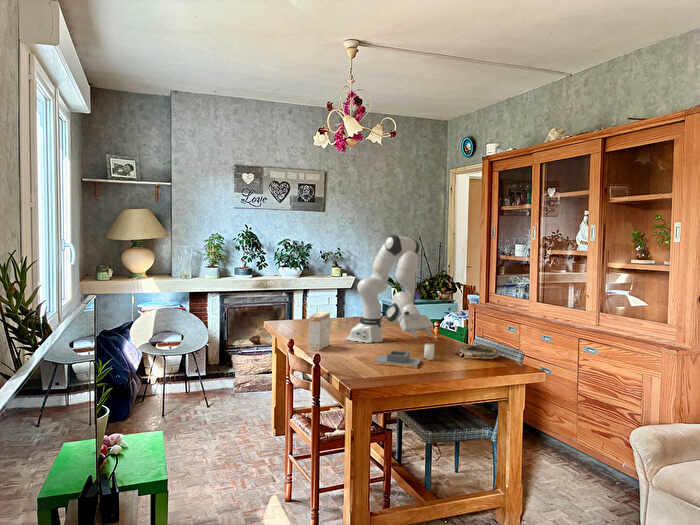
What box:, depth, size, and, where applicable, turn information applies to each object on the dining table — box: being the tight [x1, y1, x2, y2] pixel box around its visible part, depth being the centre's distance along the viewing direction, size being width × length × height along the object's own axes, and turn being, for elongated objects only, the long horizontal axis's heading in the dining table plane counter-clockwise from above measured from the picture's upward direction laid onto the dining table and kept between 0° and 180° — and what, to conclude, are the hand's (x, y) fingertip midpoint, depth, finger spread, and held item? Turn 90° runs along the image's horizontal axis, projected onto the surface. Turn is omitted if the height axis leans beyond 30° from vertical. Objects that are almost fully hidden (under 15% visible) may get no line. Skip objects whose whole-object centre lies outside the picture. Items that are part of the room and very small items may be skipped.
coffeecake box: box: [308, 311, 331, 351], centre depth 294 cm, size 15×7×20 cm, turn 160°
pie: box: [457, 344, 501, 358], centre depth 284 cm, size 28×27×5 cm
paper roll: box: [423, 343, 435, 359], centre depth 274 cm, size 5×5×8 cm
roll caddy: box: [373, 350, 422, 366], centre depth 266 cm, size 22×14×5 cm, turn 73°
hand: (423, 336), depth 278 cm, fingers open, 8 cm apart
